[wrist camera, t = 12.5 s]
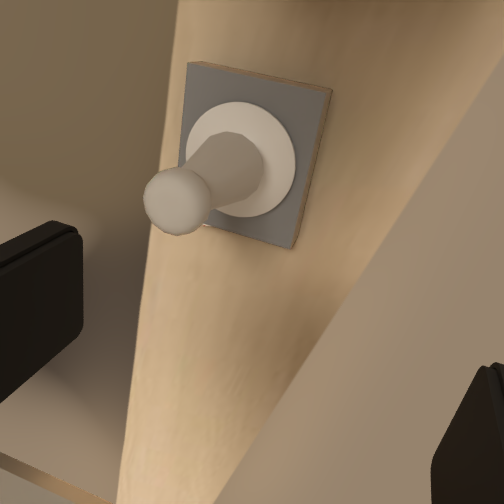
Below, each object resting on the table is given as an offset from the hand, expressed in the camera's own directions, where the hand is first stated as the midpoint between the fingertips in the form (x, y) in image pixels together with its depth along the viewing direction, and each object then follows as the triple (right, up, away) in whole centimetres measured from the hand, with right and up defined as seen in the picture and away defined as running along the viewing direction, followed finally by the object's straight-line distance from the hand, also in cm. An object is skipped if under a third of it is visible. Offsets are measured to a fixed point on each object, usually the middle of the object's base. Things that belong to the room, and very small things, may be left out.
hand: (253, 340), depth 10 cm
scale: (0, +11, +32) cm, 34 cm away
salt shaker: (-1, +10, +29) cm, 31 cm away
